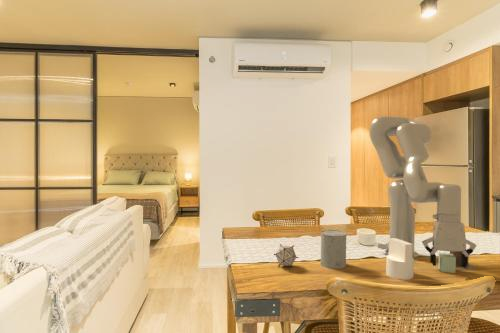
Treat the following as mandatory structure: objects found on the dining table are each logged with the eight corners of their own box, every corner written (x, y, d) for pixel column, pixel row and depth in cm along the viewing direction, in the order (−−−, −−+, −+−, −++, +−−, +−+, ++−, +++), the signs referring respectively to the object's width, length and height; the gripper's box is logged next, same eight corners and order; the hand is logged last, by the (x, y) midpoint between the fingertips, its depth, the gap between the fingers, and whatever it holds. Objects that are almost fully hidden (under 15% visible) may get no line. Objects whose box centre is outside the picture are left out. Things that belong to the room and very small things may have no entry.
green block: (441, 272, 128) (441, 256, 128) (438, 268, 133) (438, 252, 132) (455, 274, 127) (455, 257, 127) (451, 270, 131) (452, 253, 131)
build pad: (448, 268, 133) (448, 267, 133) (442, 261, 141) (442, 260, 141) (476, 270, 130) (476, 269, 130) (468, 263, 139) (468, 262, 139)
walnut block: (453, 266, 134) (453, 250, 134) (449, 262, 139) (450, 247, 139) (468, 267, 133) (468, 251, 132) (464, 263, 138) (464, 248, 137)
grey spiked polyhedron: (289, 275, 136) (305, 253, 136) (285, 274, 128) (301, 251, 129) (271, 260, 140) (286, 239, 140) (266, 258, 132) (282, 236, 133)
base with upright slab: (419, 278, 123) (420, 243, 122) (397, 280, 120) (398, 245, 120) (401, 269, 131) (402, 237, 131) (380, 272, 129) (381, 239, 128)
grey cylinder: (318, 267, 134) (319, 234, 133) (322, 259, 143) (322, 229, 142) (344, 270, 130) (345, 236, 130) (347, 262, 139) (347, 231, 139)
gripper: (424, 219, 127) (424, 267, 128) (479, 221, 123) (479, 270, 123) (420, 216, 135) (420, 261, 135) (472, 217, 130) (472, 264, 130)
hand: (448, 265), depth 129 cm, fingers open, 9 cm apart
